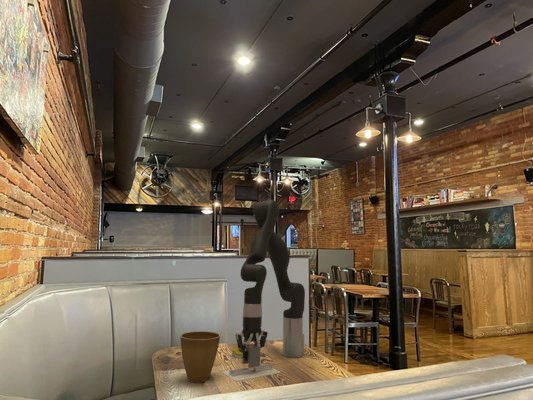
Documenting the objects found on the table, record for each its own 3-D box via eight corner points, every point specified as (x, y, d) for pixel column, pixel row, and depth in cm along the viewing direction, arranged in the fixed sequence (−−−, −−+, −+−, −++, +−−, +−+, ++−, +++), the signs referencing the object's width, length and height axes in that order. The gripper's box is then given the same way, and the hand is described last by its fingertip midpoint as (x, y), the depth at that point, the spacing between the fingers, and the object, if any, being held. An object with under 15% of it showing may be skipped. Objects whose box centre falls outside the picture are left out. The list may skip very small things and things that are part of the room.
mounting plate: (264, 366, 155) (264, 364, 155) (280, 374, 145) (280, 372, 145) (221, 374, 144) (221, 371, 144) (236, 383, 134) (236, 380, 135)
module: (251, 361, 149) (252, 343, 150) (259, 365, 144) (260, 346, 145) (242, 363, 147) (242, 344, 148) (249, 367, 142) (250, 348, 143)
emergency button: (228, 346, 172) (259, 344, 177) (228, 356, 171) (258, 353, 176) (234, 351, 163) (266, 348, 168) (233, 361, 163) (265, 359, 168)
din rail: (268, 367, 151) (268, 363, 151) (272, 369, 149) (272, 365, 149) (229, 374, 141) (229, 370, 141) (232, 376, 139) (232, 372, 139)
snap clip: (252, 366, 146) (252, 363, 147) (254, 368, 145) (254, 364, 145) (248, 367, 145) (248, 364, 146) (250, 368, 144) (250, 365, 144)
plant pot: (220, 385, 133) (221, 338, 135) (177, 387, 129) (180, 340, 132) (216, 372, 147) (218, 330, 149) (178, 373, 144) (180, 331, 146)
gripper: (262, 312, 155) (261, 355, 153) (232, 314, 147) (230, 359, 145) (272, 315, 149) (271, 359, 146) (241, 317, 141) (239, 364, 139)
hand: (251, 359), depth 146 cm, fingers closed on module, 4 cm apart
